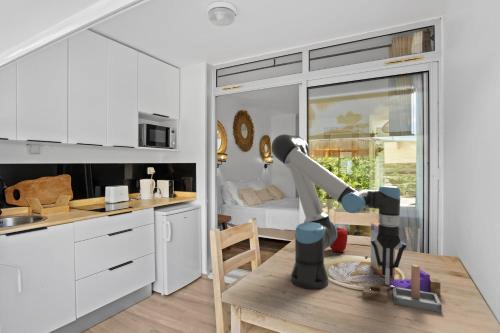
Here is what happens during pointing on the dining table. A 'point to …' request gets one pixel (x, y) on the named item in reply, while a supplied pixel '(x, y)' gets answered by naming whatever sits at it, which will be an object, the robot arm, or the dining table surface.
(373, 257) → the cracker box
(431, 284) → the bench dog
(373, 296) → the dowel block
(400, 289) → the tray
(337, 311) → the dining table surface
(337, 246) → the apple
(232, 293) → the dining table surface
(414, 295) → the dowel
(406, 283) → the bracket
